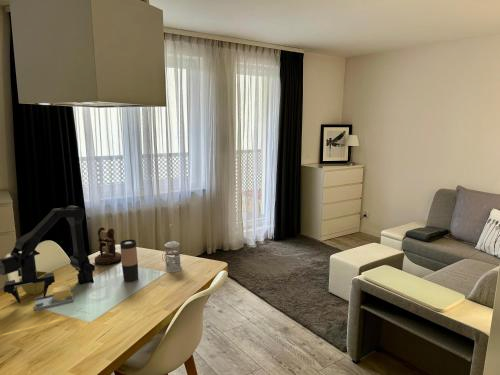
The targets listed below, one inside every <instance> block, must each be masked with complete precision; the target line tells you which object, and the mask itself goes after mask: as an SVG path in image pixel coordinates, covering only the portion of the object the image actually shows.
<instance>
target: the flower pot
mask: <svg viewBox="0 0 500 375" xmlns="http://www.w3.org/2000/svg"><path fill="white" fill-rule="evenodd" d="M48 273H50V272H49V271H42V270H37V275H38V277H37V278H41V277H44V274H48ZM18 279H19V282H20V281H22V278H21V277H18ZM21 289H22V291H24V292H25V293H26V294H27V295H34V296H35V295H36V296H37V295H39V294H40V293H43V292H44V281H43V282H38V283H33V284H28V285H23V286H21Z"/></svg>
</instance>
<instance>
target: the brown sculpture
mask: <svg viewBox="0 0 500 375" xmlns="http://www.w3.org/2000/svg"><path fill="white" fill-rule="evenodd" d="M97 235H98V239H97V241H98V242H99V244H98V246H99V247H98V250H99V254H97V256H95V257H94V262H95V264H99V265H100V264H101V265H105V264H107V265H108V266H110V265H111V264H112V263H115V262H119V261H120V260H121V252H116V240H115V230H114V228H109V229H108V230H106V228H105V227H100V228H98V230H97Z"/></svg>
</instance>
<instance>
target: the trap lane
mask: <svg viewBox="0 0 500 375" xmlns="http://www.w3.org/2000/svg"><path fill="white" fill-rule="evenodd" d="M74 301H75V299H74V294H73V289H71V296H69V297H66V299H61V300H54V296H53V293H51V294H46V296H45V298H44V295H43V296H38V297H37V296H36V297H35V298H34V311H39V310H44V309H45V310H46V309H48V308H53V307H56V306H57V307H58V306H60V305H64V304H70V303H74Z"/></svg>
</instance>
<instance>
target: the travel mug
mask: <svg viewBox="0 0 500 375" xmlns="http://www.w3.org/2000/svg"><path fill="white" fill-rule="evenodd" d="M119 244H120V246H119V247H120V254H121V259H120V260H121V267H122V269H121V270H122V277H123V278H122V279H123V281H124V282H125V283H133V282H135V281H138V280H139V262H138V261H139V260H138V251H137V241H136V239H125V240H122V241H120V243H119Z"/></svg>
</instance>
